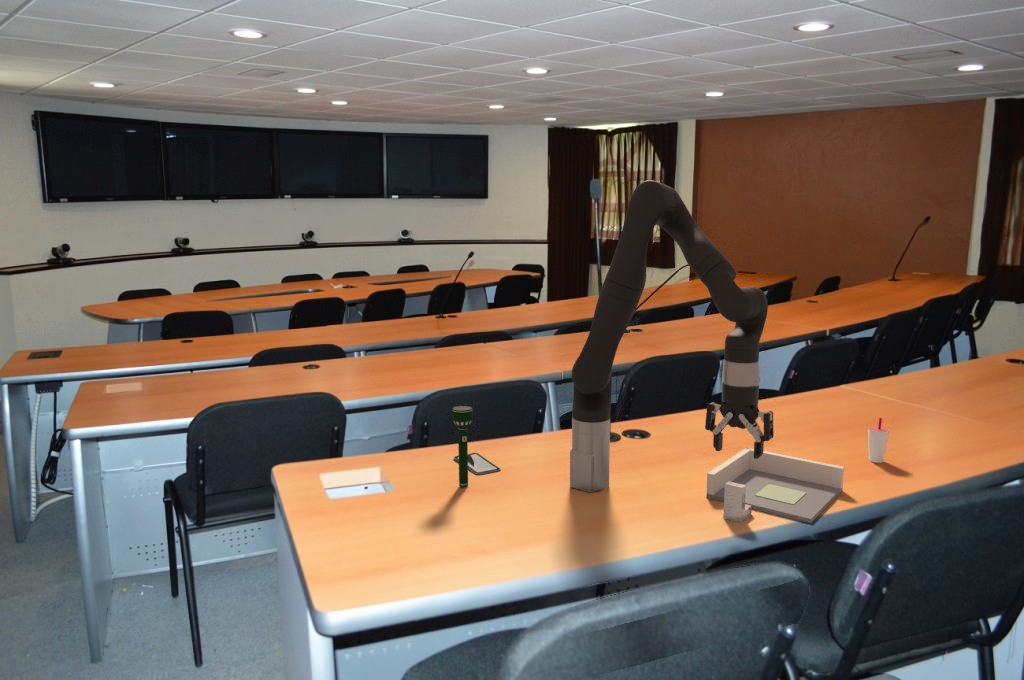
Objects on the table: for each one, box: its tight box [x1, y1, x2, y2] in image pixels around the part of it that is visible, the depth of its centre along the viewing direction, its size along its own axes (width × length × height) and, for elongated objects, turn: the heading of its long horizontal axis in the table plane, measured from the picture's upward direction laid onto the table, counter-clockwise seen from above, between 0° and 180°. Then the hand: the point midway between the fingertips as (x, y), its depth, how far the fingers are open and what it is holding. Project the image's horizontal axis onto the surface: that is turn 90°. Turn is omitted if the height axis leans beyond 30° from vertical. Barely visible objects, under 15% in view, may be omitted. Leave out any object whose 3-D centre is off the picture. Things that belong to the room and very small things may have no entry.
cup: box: [867, 417, 891, 464], centre depth 201 cm, size 5×5×12 cm
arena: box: [706, 447, 845, 524], centre depth 179 cm, size 24×24×6 cm
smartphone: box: [453, 452, 501, 476], centre depth 201 cm, size 7×1×15 cm
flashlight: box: [451, 404, 474, 489], centre depth 183 cm, size 5×5×20 cm
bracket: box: [722, 481, 753, 524], centre depth 166 cm, size 6×4×8 cm, turn 141°
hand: (737, 454), depth 163 cm, fingers open, 8 cm apart
